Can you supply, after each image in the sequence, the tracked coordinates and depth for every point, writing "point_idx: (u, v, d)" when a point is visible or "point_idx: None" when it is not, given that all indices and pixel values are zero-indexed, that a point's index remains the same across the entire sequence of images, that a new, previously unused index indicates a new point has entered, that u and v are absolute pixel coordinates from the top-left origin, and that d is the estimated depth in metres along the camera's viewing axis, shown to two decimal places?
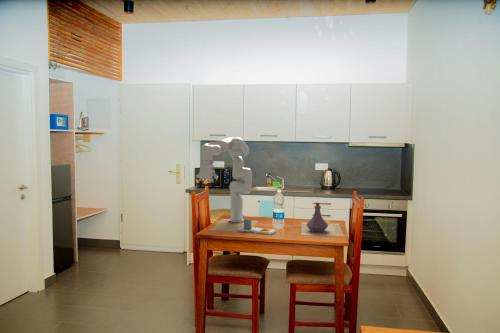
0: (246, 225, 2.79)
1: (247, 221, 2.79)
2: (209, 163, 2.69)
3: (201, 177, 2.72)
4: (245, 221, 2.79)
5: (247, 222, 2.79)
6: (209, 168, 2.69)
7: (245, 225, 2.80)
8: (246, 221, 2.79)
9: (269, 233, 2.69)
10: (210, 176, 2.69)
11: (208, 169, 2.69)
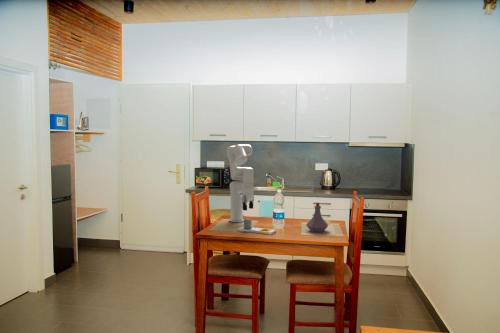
0: (246, 225, 2.79)
1: (247, 221, 2.79)
2: None
3: (248, 200, 2.76)
4: (245, 221, 2.79)
5: (247, 222, 2.79)
6: None
7: (245, 225, 2.80)
8: (246, 221, 2.79)
9: (269, 233, 2.69)
10: (253, 197, 2.82)
11: (252, 191, 2.81)
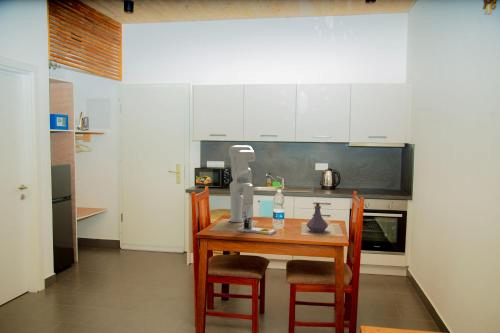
0: None
1: None
2: None
3: (248, 216, 2.77)
4: None
5: None
6: (252, 206, 2.82)
7: None
8: None
9: (269, 233, 2.69)
10: (252, 213, 2.83)
11: (252, 207, 2.82)
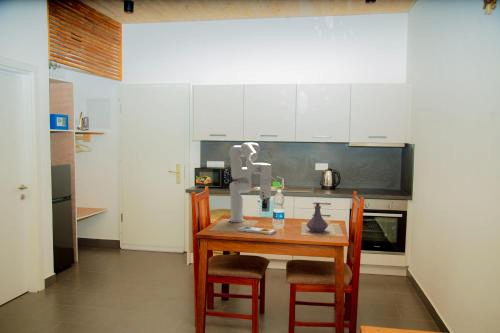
0: None
1: None
2: None
3: (266, 196, 2.70)
4: None
5: None
6: (270, 186, 2.75)
7: None
8: None
9: (269, 233, 2.69)
10: (270, 194, 2.76)
11: (270, 187, 2.75)
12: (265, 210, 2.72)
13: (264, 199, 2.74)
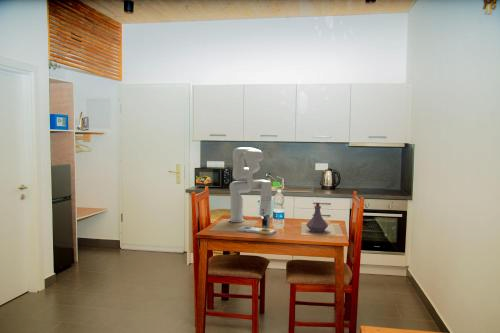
0: None
1: None
2: None
3: (266, 214, 2.71)
4: None
5: None
6: (270, 203, 2.76)
7: None
8: None
9: (269, 233, 2.69)
10: (270, 211, 2.77)
11: (270, 204, 2.75)
12: (265, 227, 2.73)
13: (264, 216, 2.75)
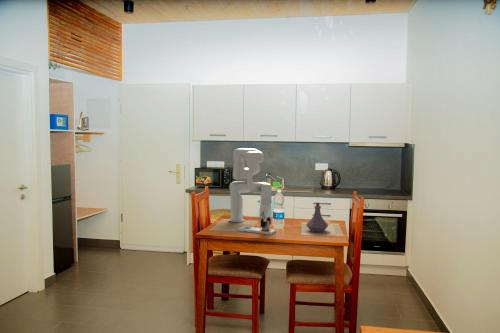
0: (264, 227, 2.73)
1: (265, 223, 2.73)
2: None
3: (266, 216, 2.71)
4: None
5: (265, 224, 2.73)
6: (270, 205, 2.76)
7: (262, 227, 2.74)
8: None
9: (269, 233, 2.69)
10: (270, 213, 2.77)
11: (270, 207, 2.75)
12: None
13: None
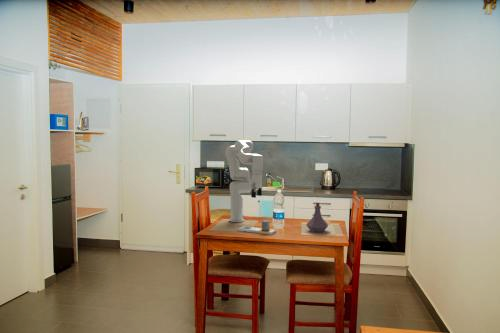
0: (264, 227, 2.73)
1: (265, 223, 2.73)
2: None
3: (257, 187, 2.75)
4: (263, 223, 2.73)
5: (265, 224, 2.73)
6: (261, 177, 2.80)
7: (262, 227, 2.74)
8: (264, 223, 2.73)
9: (269, 233, 2.69)
10: (261, 184, 2.82)
11: (261, 178, 2.80)
12: None
13: (264, 221, 2.75)
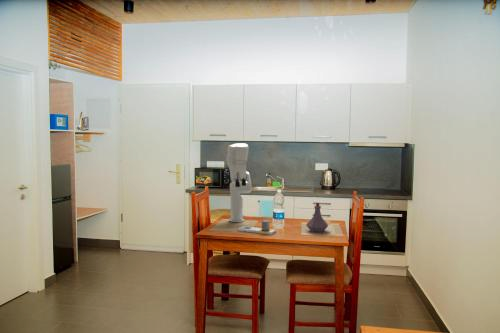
0: (264, 227, 2.73)
1: (265, 223, 2.73)
2: None
3: (241, 177, 2.85)
4: (263, 223, 2.73)
5: (265, 224, 2.73)
6: (245, 167, 2.90)
7: (262, 227, 2.74)
8: (264, 223, 2.73)
9: (269, 233, 2.69)
10: (245, 175, 2.91)
11: (245, 168, 2.89)
12: None
13: (264, 221, 2.75)
